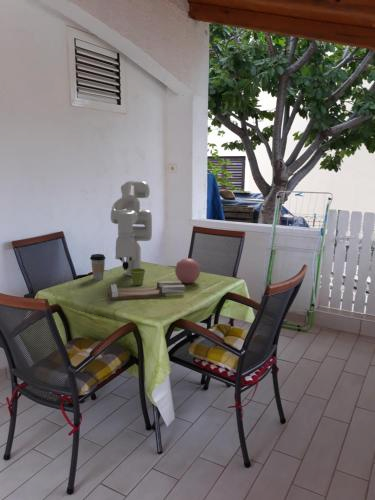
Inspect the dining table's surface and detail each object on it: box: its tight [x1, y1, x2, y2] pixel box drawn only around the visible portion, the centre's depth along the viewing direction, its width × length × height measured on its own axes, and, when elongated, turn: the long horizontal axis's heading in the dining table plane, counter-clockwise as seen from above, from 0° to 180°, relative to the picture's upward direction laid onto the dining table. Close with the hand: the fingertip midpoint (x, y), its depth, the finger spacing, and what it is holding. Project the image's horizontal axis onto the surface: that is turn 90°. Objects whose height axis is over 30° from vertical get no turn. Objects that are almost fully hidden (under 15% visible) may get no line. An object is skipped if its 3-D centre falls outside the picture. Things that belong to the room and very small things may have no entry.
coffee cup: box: [89, 253, 107, 281], centre depth 253 cm, size 9×9×15 cm
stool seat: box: [108, 280, 186, 301], centre depth 228 cm, size 14×42×5 cm, turn 104°
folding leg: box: [110, 283, 118, 297], centre depth 222 cm, size 15×3×3 cm, turn 14°
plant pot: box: [130, 267, 146, 286], centre depth 245 cm, size 9×9×9 cm
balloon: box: [174, 257, 201, 284], centre depth 251 cm, size 15×20×15 cm
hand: (125, 269), depth 216 cm, fingers closed
